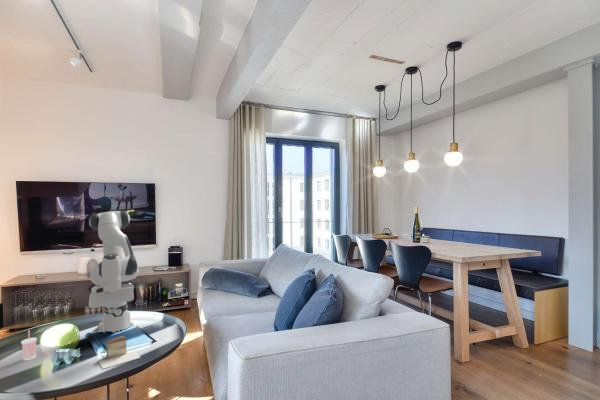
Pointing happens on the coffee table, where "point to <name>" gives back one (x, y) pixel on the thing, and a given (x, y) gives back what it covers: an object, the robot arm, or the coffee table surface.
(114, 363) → the pad
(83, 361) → the coffee table surface
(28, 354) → the beverage cup
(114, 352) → the block
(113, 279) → the robot arm
